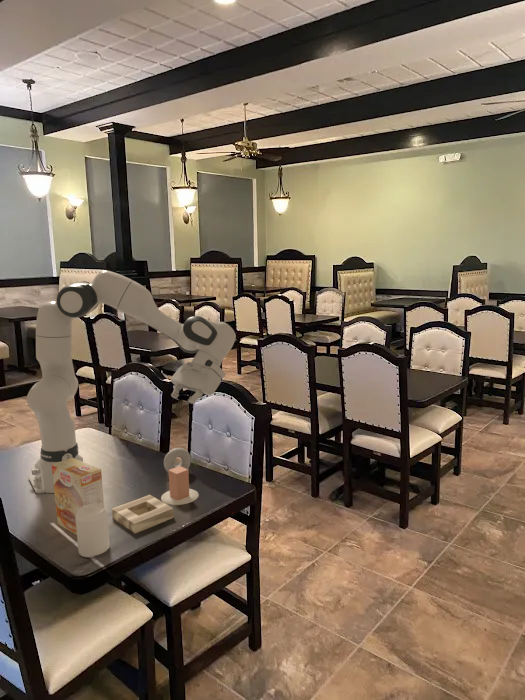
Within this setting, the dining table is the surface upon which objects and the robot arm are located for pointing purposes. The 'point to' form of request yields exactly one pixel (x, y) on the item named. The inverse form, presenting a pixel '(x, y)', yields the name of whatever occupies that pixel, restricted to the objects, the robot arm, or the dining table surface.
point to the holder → (142, 513)
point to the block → (178, 483)
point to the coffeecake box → (75, 489)
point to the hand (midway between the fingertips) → (181, 399)
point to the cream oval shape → (192, 496)
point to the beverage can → (92, 530)
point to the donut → (174, 454)
